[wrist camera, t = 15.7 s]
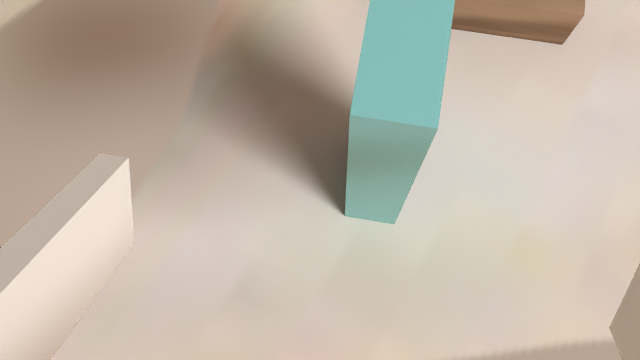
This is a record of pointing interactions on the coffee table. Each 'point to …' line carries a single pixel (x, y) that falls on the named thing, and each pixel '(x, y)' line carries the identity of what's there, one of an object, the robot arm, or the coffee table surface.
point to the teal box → (395, 103)
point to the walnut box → (520, 18)
